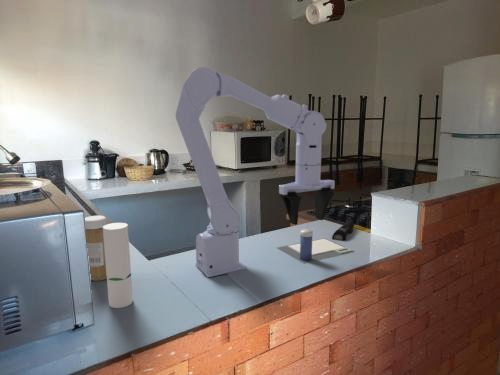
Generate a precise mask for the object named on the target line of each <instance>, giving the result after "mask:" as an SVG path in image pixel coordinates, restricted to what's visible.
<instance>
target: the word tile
mask: <svg viewBox="0 0 500 375" xmlns="http://www.w3.org/2000/svg"><path fill="white" fill-rule="evenodd" d="M344 247H345V248H340V249H336V250H334V251H335V252H337V253H339V254H342V253H347V252H351V251H352V250H353V249H351V248H348V247H346V246H344ZM347 254H348V253H347Z"/></svg>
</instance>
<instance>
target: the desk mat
mask: <svg viewBox="0 0 500 375" xmlns="http://www.w3.org/2000/svg"><path fill="white" fill-rule="evenodd" d="M320 239H321V238H318V239H317V240H320ZM322 239H326V240H328V241H331V242H333V243H335V244H338V245H340V246H342V247H344V248H345V247H346V246H344V245H341V244H339V243H337V242H335V241H332V240H330V239H328V238H322ZM315 240H316V239H314V240H313V239H312V241H315ZM295 244H296V243H293V244H292V245H295ZM297 244H300V242H299V243H297ZM290 245H291V244H289V245H284V246H279V247H276V249H278V250H279V251H281V252H284V253H285V254H287V255H288V256H290V257H292V258H294V259H295V260H297V261H298V262H300V263H302V264H307V263H312V262H315V261H317V262H318V261H321V260H326V259H329V258H334V257H338V256H343V255H346V254H351V253H352V254H353V253H355V252H356V251H355V250H353V249H351V250H352V251H351V252H347V253H342V254H339V253H337V252H335V251H331V252H326V253H322V254H317V255H313V256H312V260H310V261H302V260H300V253H298V252H297V251H295V250H293V249H291V248H289V247H288V246H290Z"/></svg>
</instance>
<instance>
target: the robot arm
mask: <svg viewBox="0 0 500 375" xmlns="http://www.w3.org/2000/svg"><path fill="white" fill-rule="evenodd" d="M180 91H181V92H180V96H179V100H178V102H177V103H178V104H177V107H176V112H175V120H176V122H177V125H178V127H179V131H180V133H181V135H182V138H183V142H184V144H185V146H186V149H187V151H188V154H189V157H190V159H191V162H192V164H193V168H194V170H195V174H196V176H197V178H198V180H199V184H200V186H201V188H202V191H203V194H204V197H205V200H206V203H207V207H206V213H207V217H208V218H209V221H210V222H209V224H208V226H206V230H204V231H203V232H201V233H198V234H196V237H195V257H196V259H195V260H196V262H195V263H194V264H195V266H196V267H197V268H198V269H199V271H201V272H202V273H203V274H204V275H205V276H206V277H207V278H211V277H215V276H220V275H225V274H228V273H233V272H235V271H236V272H237V271H240V270H245V269H247V266H245V264H243V263H241V262H240V247H239V246H240V242H239V241H240V239H239V238H240V236H239V234H240V231H239V229H240V227H239V224H240V215H239V212H238V211H237V209H236V208H235V206H234V205H233V203H232V201H231V200H229V198H228V195H227V193H226V190H225V188H224V184H223V182H222V179H221V176H220V173H219V171H218V168H217V165H216V163H215V160H214V157H213V155H212V151H211V149H210V147H209V143H208V141H207V138H206V135H205V132H204V129H203V128H202V123H201V121H200V117H201V115H202V113H203V111H204V109H205V107H206V105H207V104H208V103H209V102H210V101H211V100H212V99H213V98H214V97H215V98H225V97H226V98H227V97H231V98H234V99H236V100H239V101H241V102H243V103H246V104H248V105H250V106H253V107H255V108H258V109H260V110H262V111H264V112H263V113H264V114H265V117H266V119H267V120H269V121H271V122H274V123H275V124H278V125H280V126H282V127H285V128H287V129H289V130H291V131H294V133H295V134H296V142H295V181H294V182H293V181H292V182H289V183H286V184H279V185H278V194H279V195H280V196H279V197H280V198H281V200H282V202H283V204H284V206H285V208H286V211H287V215H288V220H289V223H290V224H292V225H294V226H295V225H298V223H299V208H300V203H301V201H302V200H301V199H302V197H301V196H300V195H299V196H298V194H297V193H303V192H313V196H314V203H315V204H314V206H315V209H314V210H315V213H314V214H315V219H317V220H320V221H323V220H324V218H325V215H326V211H327V209H328V206H329V205H330V202H331V200H332V199H333V197H334V196H335V184H336V183H335V180H333V179H321V174H322V173H321V172H322V171H321V168H322V139H323V138H322V136H323V134H324V133H325V131H326V130H327V125H328V124H327V123H326V120H325V117H324V116H323V114H322V113H320V112H319V111H316V110H309V109H308V107H309V106H308V105H306V104H302V105H301V104H299V103H297V102H295V101H293V100H291V99H289V98H290V96H289V95H287V94H286V93H285V94H282V95H280V94H275V95H272V96H268V94H265V93H263V92H261V91H259V90H257V89H256V88H253V87H252V86H250V85H248V84H246V83H244V82H243V81H240V80H238V79H236V78H235V77H234V76H233V77H232V76H230V75H228V74H226V73H223V72H221V71H216V72H215V70H212V69H211V68H210V67H207V66H202V67H201V66H199V67H197V68H195V69H193V70H192V71H191V72H190V73H189V75H188V76H187V78H186V80H185V81H184V83H183V84H182V87H181V90H180Z"/></svg>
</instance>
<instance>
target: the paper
mask: <svg viewBox="0 0 500 375" xmlns="http://www.w3.org/2000/svg"><path fill="white" fill-rule="evenodd" d="M319 239H320V240H318V239H314V240H315V241H313V240H312V256H313V255H317V254H322V253H326V252H331V251H334V250H336V249H340V248H344V247H345V246H344V247H342V246H343V245H342V246H340V245H341V244H339V243H337V244H335V243H336V242H335V243H333V242H334V241H332V240H330V241H328V240H329V239H328V240H326V239H327V238H326V239H323V238H319ZM331 241H332V242H331ZM294 244H295V245H293V244H289V245H290V246H288V245H287V246H288V247H289V248H291V249H293V250H295V251H297V252H298V253H300V244H298V243H294ZM338 244H339V245H338Z"/></svg>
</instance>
